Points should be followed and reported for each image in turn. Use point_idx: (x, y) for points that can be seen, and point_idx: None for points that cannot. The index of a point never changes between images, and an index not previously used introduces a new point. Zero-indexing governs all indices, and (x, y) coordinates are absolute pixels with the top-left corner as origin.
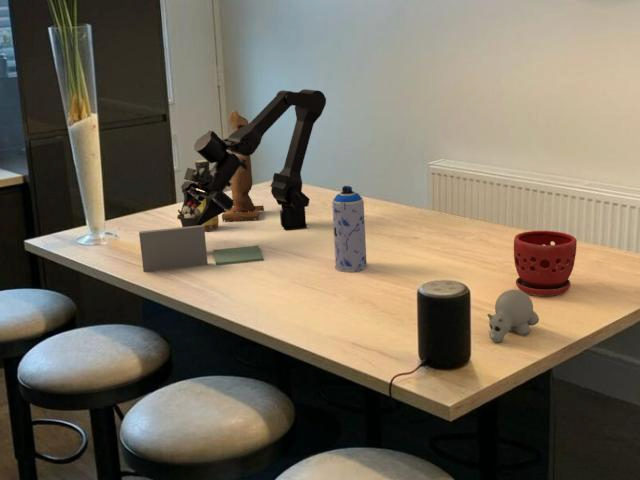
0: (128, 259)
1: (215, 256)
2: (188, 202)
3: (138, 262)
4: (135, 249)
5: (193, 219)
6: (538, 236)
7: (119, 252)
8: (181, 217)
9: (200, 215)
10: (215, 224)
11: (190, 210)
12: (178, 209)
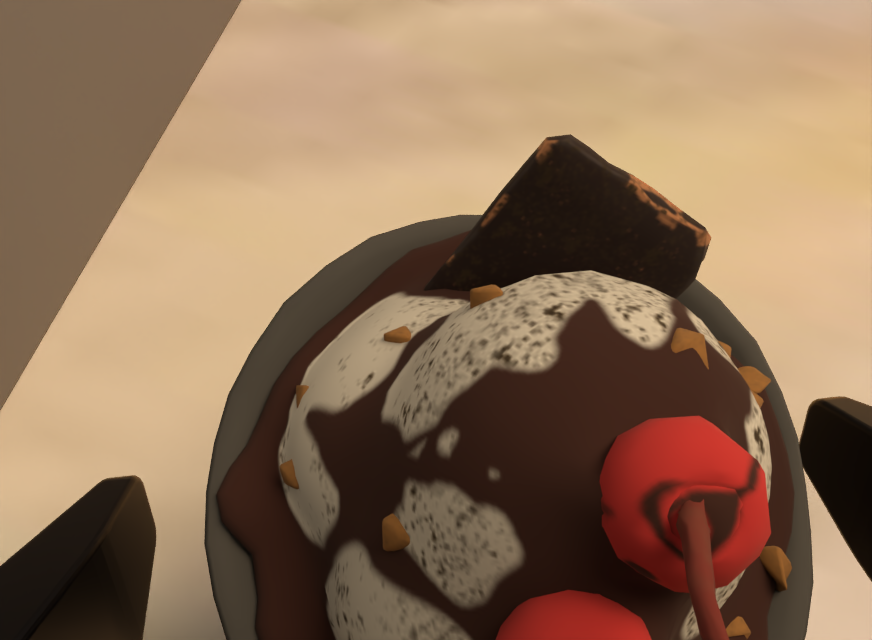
0: (605, 6)
1: None
2: (701, 454)
3: (472, 30)
4: (860, 138)
5: (230, 451)
6: None
7: (839, 23)
8: (443, 250)
9: (30, 601)
10: None
11: (393, 433)
12: (560, 139)
